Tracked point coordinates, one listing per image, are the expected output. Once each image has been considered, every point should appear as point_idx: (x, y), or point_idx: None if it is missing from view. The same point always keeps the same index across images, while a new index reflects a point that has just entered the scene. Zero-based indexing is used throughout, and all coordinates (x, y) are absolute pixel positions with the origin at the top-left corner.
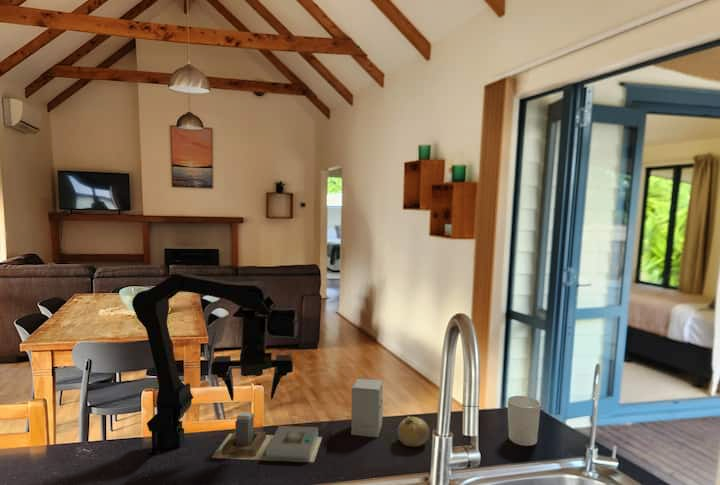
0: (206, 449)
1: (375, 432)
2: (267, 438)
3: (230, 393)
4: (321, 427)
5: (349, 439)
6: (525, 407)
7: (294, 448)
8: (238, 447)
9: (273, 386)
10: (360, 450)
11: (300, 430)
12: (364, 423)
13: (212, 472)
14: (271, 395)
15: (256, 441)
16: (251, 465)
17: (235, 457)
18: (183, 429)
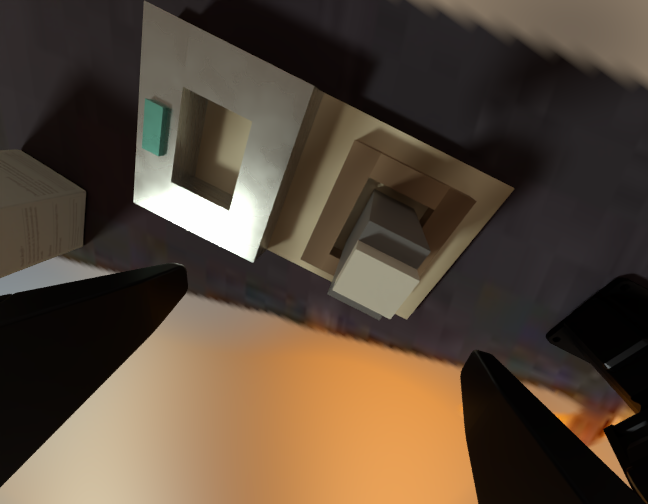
0: (494, 273)
1: (8, 153)
2: (302, 245)
3: (546, 417)
4: (164, 261)
5: (89, 168)
6: None
7: (203, 52)
8: (413, 184)
9: (30, 306)
10: (51, 87)
11: (186, 202)
12: (6, 175)
13: (531, 101)
14: (154, 272)
15: (340, 205)
16: (378, 106)
17: (428, 156)
18: (608, 360)
